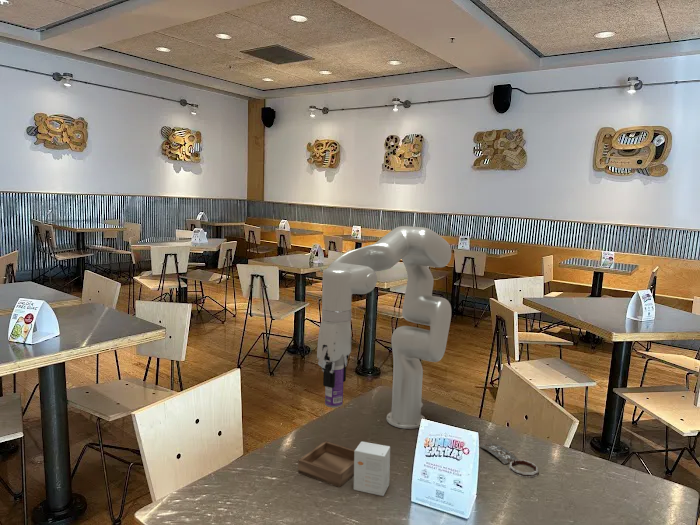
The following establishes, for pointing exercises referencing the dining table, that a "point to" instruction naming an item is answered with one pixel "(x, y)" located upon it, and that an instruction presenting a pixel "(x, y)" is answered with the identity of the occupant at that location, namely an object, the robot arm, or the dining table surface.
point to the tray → (328, 464)
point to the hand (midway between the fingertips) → (334, 382)
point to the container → (336, 386)
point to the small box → (371, 468)
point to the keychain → (510, 459)
